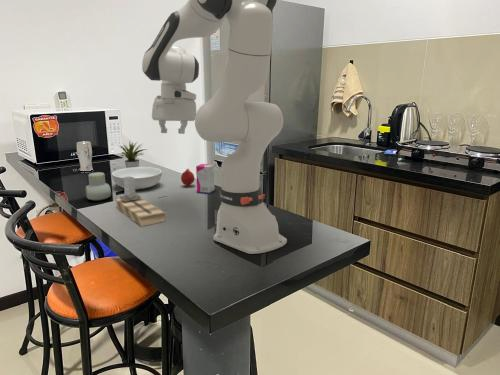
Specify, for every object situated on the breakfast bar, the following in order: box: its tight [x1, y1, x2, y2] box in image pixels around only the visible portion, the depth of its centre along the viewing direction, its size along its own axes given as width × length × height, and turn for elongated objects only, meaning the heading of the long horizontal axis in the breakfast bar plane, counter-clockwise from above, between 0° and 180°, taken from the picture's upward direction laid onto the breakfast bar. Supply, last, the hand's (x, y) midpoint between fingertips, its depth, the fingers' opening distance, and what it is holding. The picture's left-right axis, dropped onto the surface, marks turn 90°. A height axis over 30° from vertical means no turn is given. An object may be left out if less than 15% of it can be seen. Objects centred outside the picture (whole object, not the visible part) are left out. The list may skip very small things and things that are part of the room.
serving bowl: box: [111, 166, 163, 191], centre depth 165 cm, size 21×21×7 cm
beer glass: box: [76, 140, 94, 171], centre depth 193 cm, size 7×7×15 cm
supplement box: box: [195, 163, 216, 195], centre depth 158 cm, size 6×6×12 cm
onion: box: [180, 168, 195, 187], centre depth 166 cm, size 6×6×8 cm
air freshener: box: [85, 171, 112, 202], centre depth 148 cm, size 11×8×10 cm
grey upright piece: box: [119, 176, 142, 202], centre depth 136 cm, size 4×6×8 cm, turn 127°
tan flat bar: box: [115, 197, 166, 227], centre depth 131 cm, size 24×8×3 cm, turn 37°
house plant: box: [119, 141, 148, 168], centre depth 189 cm, size 14×14×16 cm
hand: (172, 133), depth 138 cm, fingers open, 8 cm apart
